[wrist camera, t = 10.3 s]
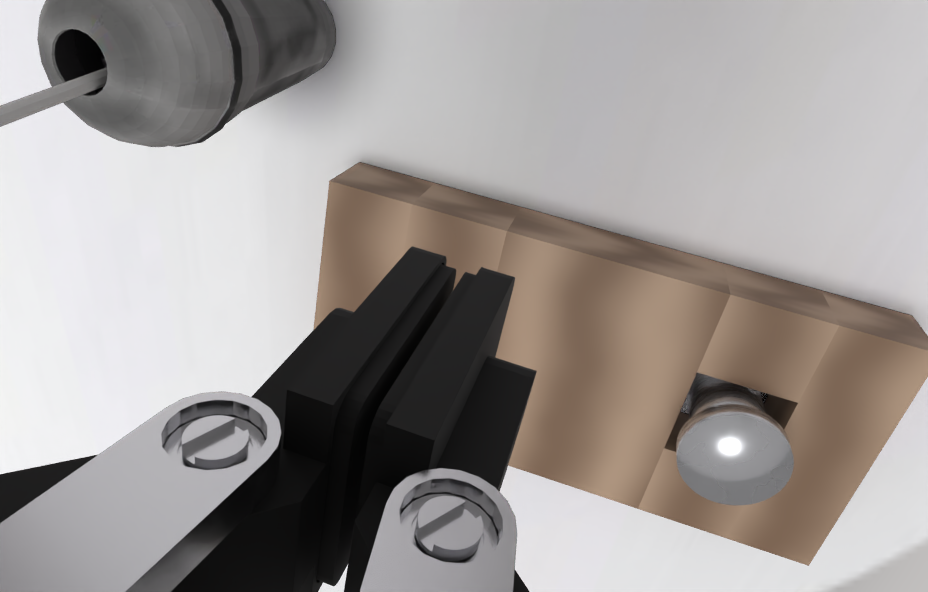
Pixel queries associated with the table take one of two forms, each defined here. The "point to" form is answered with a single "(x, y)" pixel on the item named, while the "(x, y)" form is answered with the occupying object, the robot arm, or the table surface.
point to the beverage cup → (173, 62)
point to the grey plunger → (731, 444)
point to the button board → (646, 351)
